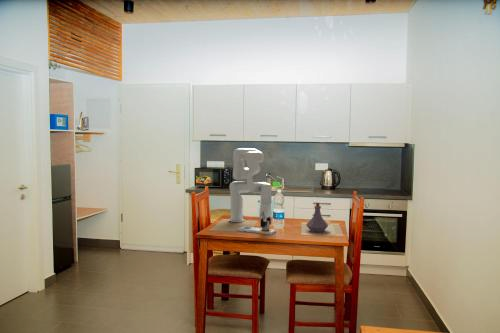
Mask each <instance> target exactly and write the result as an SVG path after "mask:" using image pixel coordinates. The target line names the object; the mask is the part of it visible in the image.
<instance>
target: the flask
mask: <svg viewBox="0 0 500 333" xmlns="http://www.w3.org/2000/svg"><path fill="white" fill-rule="evenodd" d="M313 208H314V214H313V216H312V217H311V219H309V221H308V222H307V223H306V225H305V226H306V227H307V228H308V230H309V231H310V232H312V231H313V232H312V233H323V232H325V231H326V229H327V228H328V227H329V223H327V222H326V220H325V219H324V218H323V217H322V213H321V208H322V206H321V205H320V202H316V203H315V205H314V207H313Z"/></svg>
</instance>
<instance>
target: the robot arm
mask: <svg viewBox="0 0 500 333" xmlns="http://www.w3.org/2000/svg"><path fill="white" fill-rule="evenodd" d="M232 153H233V154H232V158H233V167H232V168H233V169H232V170H233V171H232V178H233V180H234V181H232V182H231V183H229V192H230V218H228V222H230V221H231V222H230V223H242V222H245V219H244V217H245V214H244V212H243V210H244V208H243V206H244V204H243V196H242V195H241V194H246V193H252V194H260V206H259V221H260V224H259V225H260V227H259V228H262V227H265V221H269V226H271V225H272V192H273V191H272V188H273V186H272V184H271V183H269V182H266V181H261V182H260V181H255V182H254V179H253V176H255V175H257V174H259V172H261V166H260V164H261V163H263V162H264V160H265V155H264V153H263V152H262V151H260V150H258V149H257V148H252V147H249V148H248V147H247V148H246V147H241V148H235V149H234V151H233V152H232ZM245 163H246V164H245ZM245 165H247V167H246V166H245Z"/></svg>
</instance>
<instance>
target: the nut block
mask: <svg viewBox="0 0 500 333" xmlns="http://www.w3.org/2000/svg"><path fill="white" fill-rule="evenodd" d="M261 228H262V231H269V229H270V225H269V221H266V220H265V227H261Z"/></svg>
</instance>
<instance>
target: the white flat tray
mask: <svg viewBox="0 0 500 333" xmlns="http://www.w3.org/2000/svg"><path fill="white" fill-rule="evenodd" d="M236 230H237V231H238V232H244V231H246V233H252V234H259V235H260V234H263V235H270V236H271V235H274V234H276V232H277V229H272V228H269V231H262V227H256V226H255V227H254V226H244V225H242V226H240V227H238V228H236Z"/></svg>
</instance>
